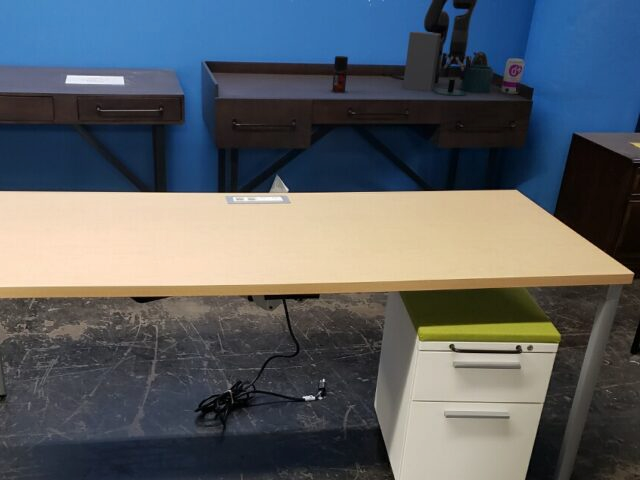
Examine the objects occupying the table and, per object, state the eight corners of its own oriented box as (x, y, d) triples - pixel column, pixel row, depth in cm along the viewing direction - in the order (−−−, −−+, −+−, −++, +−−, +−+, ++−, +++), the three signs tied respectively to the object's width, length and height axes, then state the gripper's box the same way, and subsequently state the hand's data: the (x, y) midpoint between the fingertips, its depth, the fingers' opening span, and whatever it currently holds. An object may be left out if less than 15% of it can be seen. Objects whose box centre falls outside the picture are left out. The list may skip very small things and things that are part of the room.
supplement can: (519, 94, 371) (525, 61, 363) (501, 93, 372) (507, 60, 365) (517, 91, 378) (524, 58, 370) (500, 90, 379) (506, 57, 372)
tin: (454, 90, 375) (458, 66, 369) (470, 87, 383) (474, 64, 378) (479, 95, 367) (483, 70, 361) (494, 92, 375) (499, 67, 370)
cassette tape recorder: (434, 90, 374) (442, 33, 361) (430, 92, 369) (438, 35, 356) (406, 87, 379) (413, 31, 366) (402, 88, 374) (409, 32, 362)
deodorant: (346, 91, 364) (349, 56, 356) (343, 93, 359) (346, 58, 351) (333, 89, 366) (336, 55, 358) (330, 92, 361) (333, 57, 353)
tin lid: (428, 93, 366) (430, 78, 363) (445, 90, 375) (447, 75, 372) (454, 98, 357) (457, 83, 354) (471, 95, 366) (474, 80, 363)
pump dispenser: (477, 81, 399) (482, 50, 391) (490, 85, 391) (496, 52, 383) (461, 82, 395) (466, 50, 388) (474, 86, 387) (479, 53, 380)
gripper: (477, 41, 353) (471, 79, 361) (450, 38, 361) (444, 75, 369) (468, 42, 348) (462, 81, 356) (441, 39, 356) (436, 77, 364)
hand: (453, 78), depth 362 cm, fingers open, 8 cm apart
